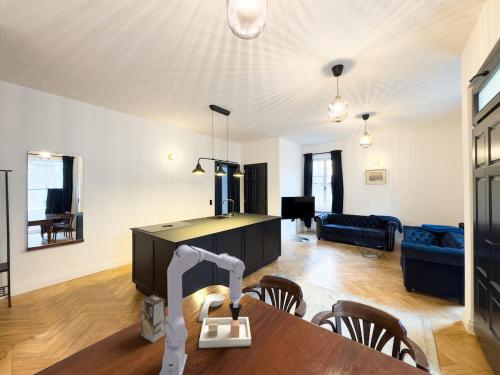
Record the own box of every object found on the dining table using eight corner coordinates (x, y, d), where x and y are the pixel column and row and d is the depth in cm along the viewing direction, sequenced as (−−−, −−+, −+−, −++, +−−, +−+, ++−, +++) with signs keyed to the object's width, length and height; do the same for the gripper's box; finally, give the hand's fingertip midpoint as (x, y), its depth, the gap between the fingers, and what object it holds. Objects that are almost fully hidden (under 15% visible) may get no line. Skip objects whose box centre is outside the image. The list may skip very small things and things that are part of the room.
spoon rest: (208, 298, 132) (208, 286, 132) (226, 300, 130) (227, 288, 131) (192, 321, 109) (192, 307, 109) (214, 323, 107) (215, 309, 107)
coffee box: (165, 334, 98) (166, 299, 98) (152, 343, 92) (154, 305, 92) (152, 327, 102) (153, 294, 103) (139, 335, 97) (141, 299, 97)
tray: (250, 346, 92) (251, 338, 92) (198, 347, 90) (199, 340, 90) (247, 322, 108) (248, 317, 108) (203, 324, 106) (204, 318, 106)
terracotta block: (239, 337, 97) (239, 325, 97) (230, 337, 96) (230, 326, 96) (238, 331, 101) (239, 320, 101) (230, 331, 100) (230, 320, 100)
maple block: (217, 336, 97) (217, 325, 97) (208, 336, 96) (208, 325, 96) (217, 330, 101) (217, 319, 101) (209, 330, 100) (209, 320, 100)
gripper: (245, 292, 92) (244, 324, 92) (243, 278, 106) (242, 306, 106) (228, 292, 91) (228, 325, 91) (229, 278, 106) (228, 306, 106)
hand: (234, 314), depth 99 cm, fingers open, 7 cm apart
